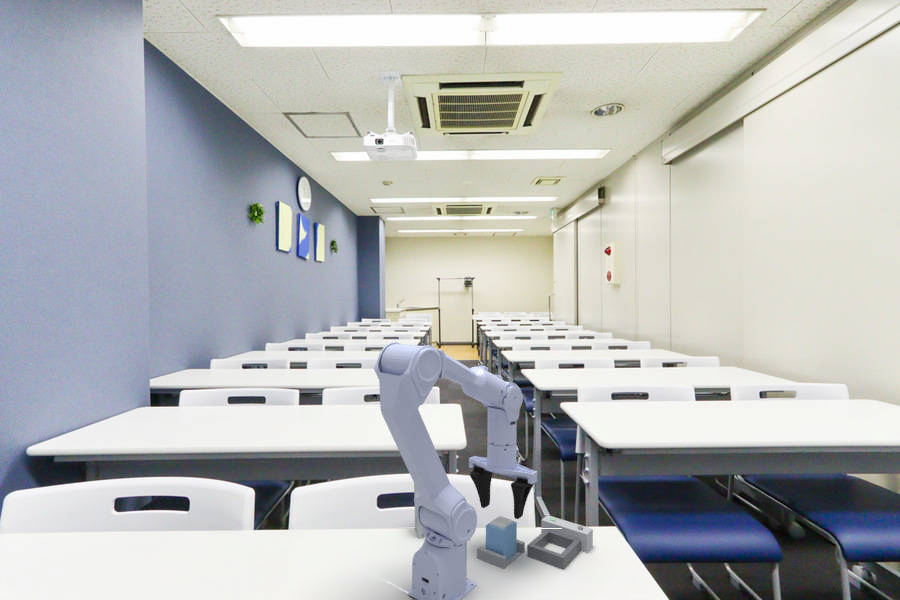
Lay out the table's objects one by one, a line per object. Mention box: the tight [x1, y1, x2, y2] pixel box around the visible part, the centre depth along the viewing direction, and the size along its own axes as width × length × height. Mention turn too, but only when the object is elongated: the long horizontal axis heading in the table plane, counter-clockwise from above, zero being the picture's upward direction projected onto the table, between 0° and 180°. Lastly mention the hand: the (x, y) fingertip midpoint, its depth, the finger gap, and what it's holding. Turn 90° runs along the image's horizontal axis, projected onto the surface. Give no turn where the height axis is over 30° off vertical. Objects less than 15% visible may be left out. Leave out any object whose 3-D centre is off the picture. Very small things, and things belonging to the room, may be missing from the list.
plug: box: [485, 515, 518, 560], centre depth 90 cm, size 5×4×6 cm
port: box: [526, 514, 594, 571], centre depth 92 cm, size 12×10×4 cm
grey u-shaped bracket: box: [476, 539, 526, 570], centre depth 90 cm, size 8×6×2 cm
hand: (501, 511), depth 90 cm, fingers open, 7 cm apart
